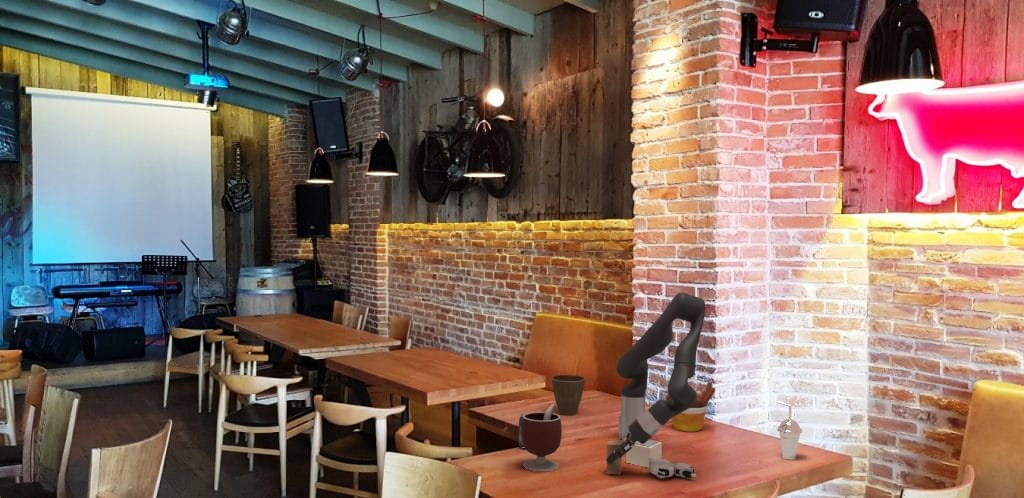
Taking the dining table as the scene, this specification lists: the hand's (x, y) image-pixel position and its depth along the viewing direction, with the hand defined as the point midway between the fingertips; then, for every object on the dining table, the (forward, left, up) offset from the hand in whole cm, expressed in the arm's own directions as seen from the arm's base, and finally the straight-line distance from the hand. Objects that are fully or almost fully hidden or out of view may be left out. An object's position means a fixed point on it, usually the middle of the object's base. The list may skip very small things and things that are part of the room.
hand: (608, 459), depth 246 cm
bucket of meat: (-3, +72, -4) cm, 72 cm away
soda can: (-38, +7, -4) cm, 39 cm away
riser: (+4, +17, -4) cm, 18 cm away
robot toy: (+18, +10, -5) cm, 21 cm away
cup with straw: (+42, +57, -4) cm, 71 cm away
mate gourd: (-21, -8, -4) cm, 23 cm away
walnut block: (+2, +1, -4) cm, 5 cm away
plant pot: (-56, +62, -4) cm, 84 cm away
